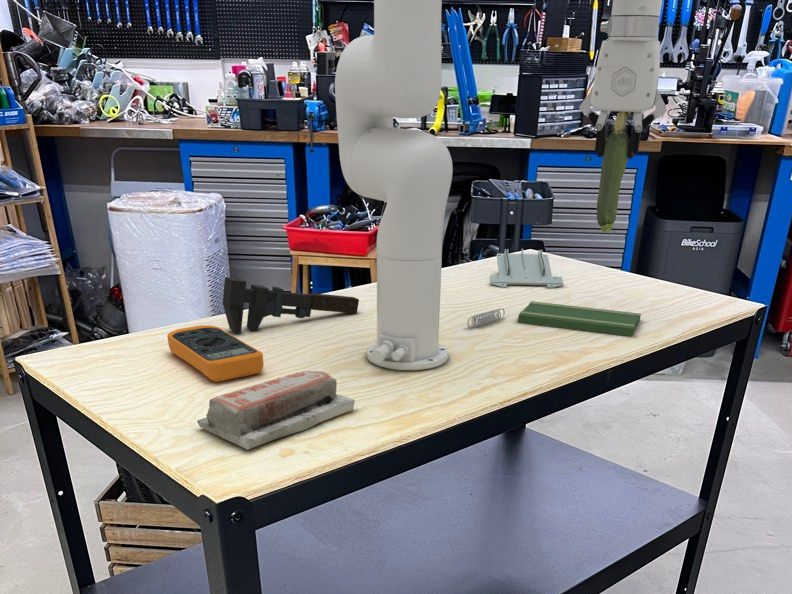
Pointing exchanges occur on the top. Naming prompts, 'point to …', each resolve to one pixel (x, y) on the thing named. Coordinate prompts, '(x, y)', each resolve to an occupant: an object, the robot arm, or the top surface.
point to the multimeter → (215, 352)
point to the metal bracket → (524, 270)
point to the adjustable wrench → (276, 303)
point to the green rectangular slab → (580, 318)
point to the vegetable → (612, 172)
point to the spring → (486, 318)
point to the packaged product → (275, 408)
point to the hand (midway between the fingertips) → (615, 155)
